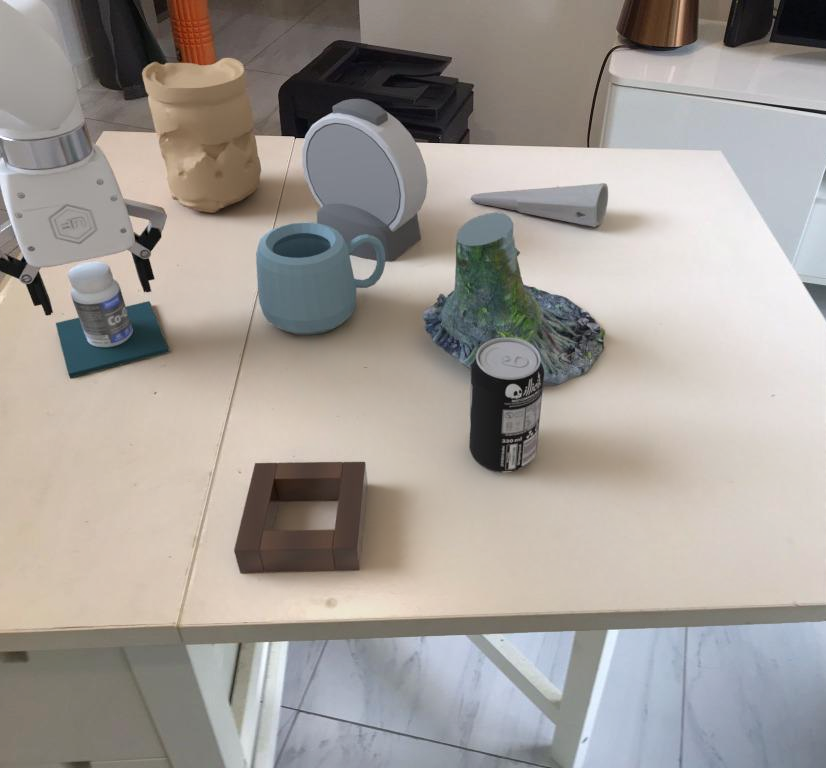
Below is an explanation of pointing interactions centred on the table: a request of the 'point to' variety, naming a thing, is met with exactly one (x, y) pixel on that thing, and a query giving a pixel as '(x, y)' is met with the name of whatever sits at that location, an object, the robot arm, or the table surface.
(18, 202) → the robot arm
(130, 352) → the mat
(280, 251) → the mug
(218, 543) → the table surface
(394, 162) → the alarm clock
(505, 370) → the beverage can
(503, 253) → the tree stump
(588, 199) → the long tapered cone
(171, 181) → the container
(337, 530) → the peg block
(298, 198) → the table surface
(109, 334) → the pill bottle
